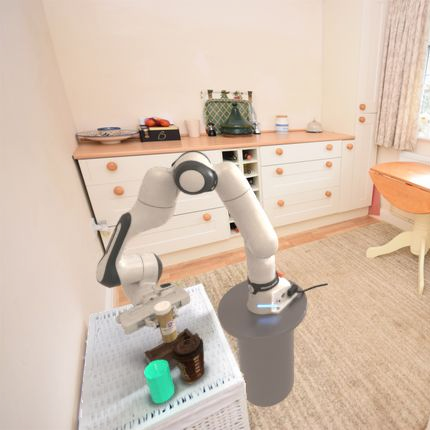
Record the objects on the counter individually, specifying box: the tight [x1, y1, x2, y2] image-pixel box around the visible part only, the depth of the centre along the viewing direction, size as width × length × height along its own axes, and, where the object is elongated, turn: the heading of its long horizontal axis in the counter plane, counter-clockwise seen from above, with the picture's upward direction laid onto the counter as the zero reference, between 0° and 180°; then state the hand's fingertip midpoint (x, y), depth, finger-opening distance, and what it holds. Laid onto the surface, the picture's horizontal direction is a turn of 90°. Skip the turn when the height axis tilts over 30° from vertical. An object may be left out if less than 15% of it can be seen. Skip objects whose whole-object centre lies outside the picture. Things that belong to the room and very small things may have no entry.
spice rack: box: [143, 328, 200, 371], centre depth 95 cm, size 14×9×7 cm, turn 139°
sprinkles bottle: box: [154, 301, 179, 343], centre depth 91 cm, size 5×5×14 cm
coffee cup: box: [172, 334, 206, 385], centre depth 88 cm, size 9×8×13 cm
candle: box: [143, 360, 176, 404], centre depth 82 cm, size 6×6×12 cm
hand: (167, 321), depth 90 cm, fingers closed on sprinkles bottle, 4 cm apart
